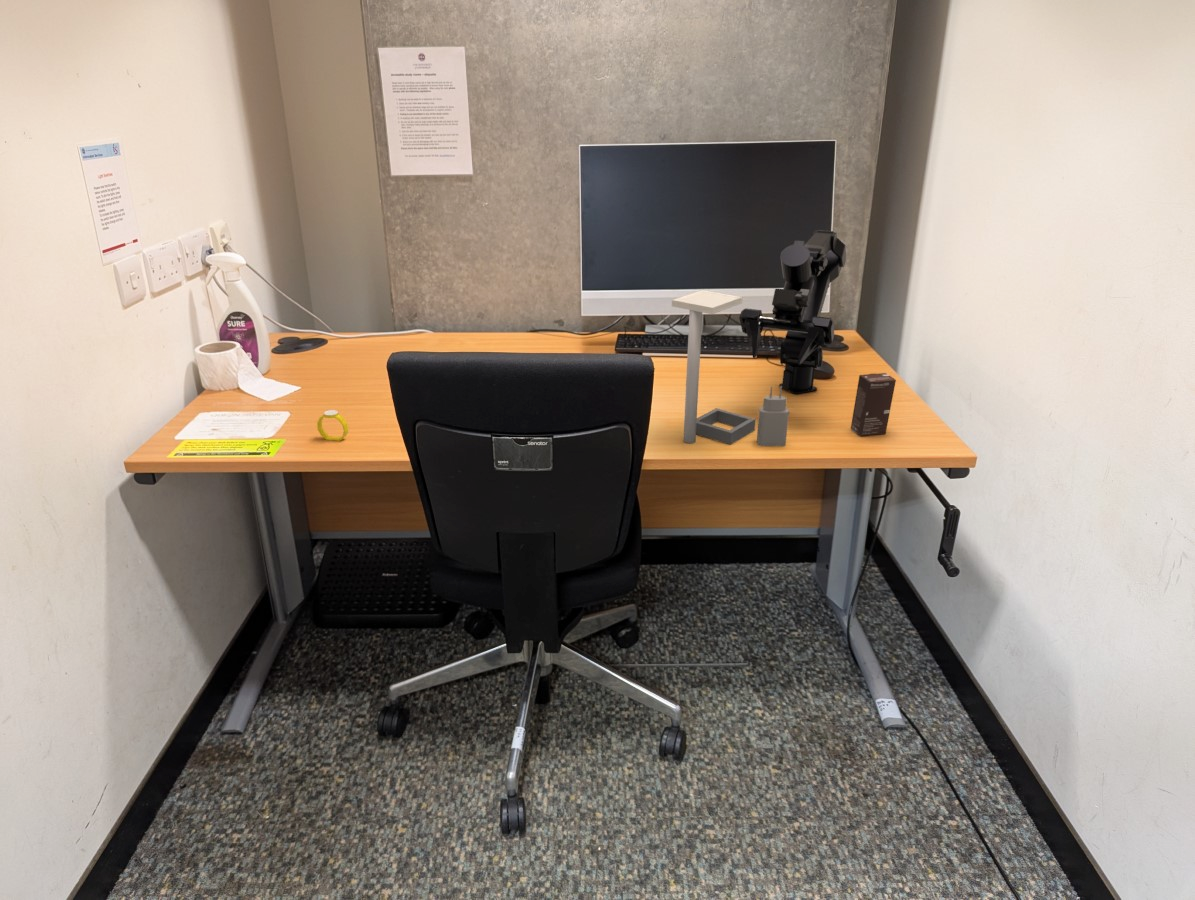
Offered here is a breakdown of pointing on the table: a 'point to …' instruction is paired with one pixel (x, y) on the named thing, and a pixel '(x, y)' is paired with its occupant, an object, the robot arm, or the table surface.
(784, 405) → the power adapter
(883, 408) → the box
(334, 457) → the table surface
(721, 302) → the tall pedestal stand
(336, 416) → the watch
